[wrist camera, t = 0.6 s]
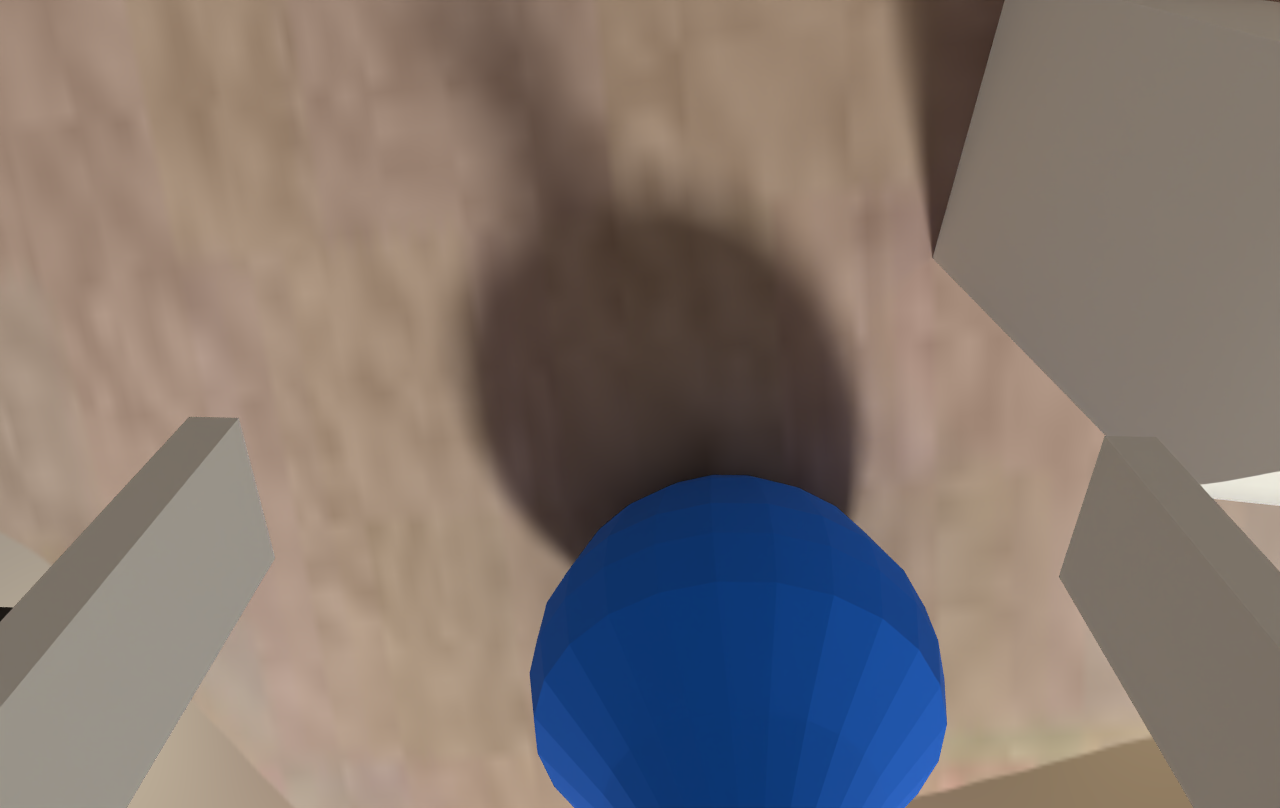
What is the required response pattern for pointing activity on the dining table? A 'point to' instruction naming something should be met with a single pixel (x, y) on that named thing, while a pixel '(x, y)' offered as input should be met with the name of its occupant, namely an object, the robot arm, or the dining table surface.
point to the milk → (1136, 220)
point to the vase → (736, 659)
